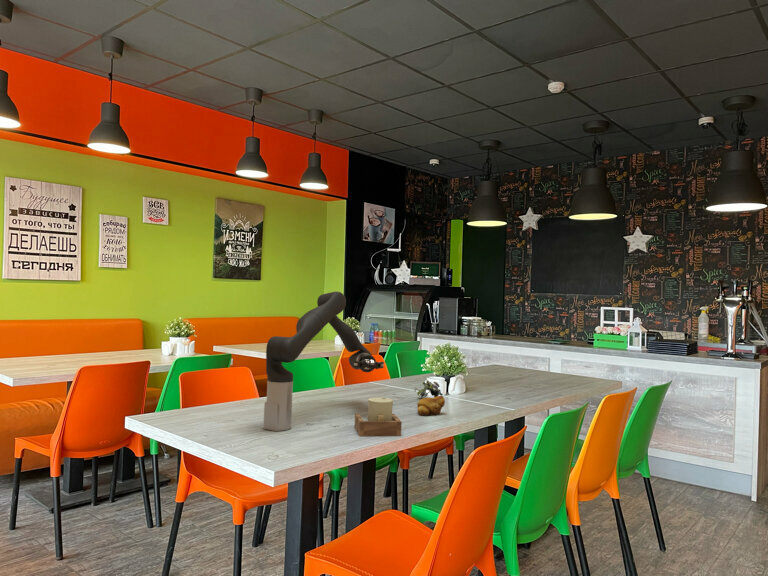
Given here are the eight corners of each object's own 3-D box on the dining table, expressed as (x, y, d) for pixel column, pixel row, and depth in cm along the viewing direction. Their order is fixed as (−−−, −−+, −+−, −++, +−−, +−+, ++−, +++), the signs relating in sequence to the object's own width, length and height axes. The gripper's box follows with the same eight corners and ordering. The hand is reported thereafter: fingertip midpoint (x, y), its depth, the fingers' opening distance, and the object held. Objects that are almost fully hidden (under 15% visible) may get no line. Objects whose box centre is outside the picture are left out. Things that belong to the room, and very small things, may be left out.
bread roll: (424, 417, 229) (425, 398, 229) (409, 413, 237) (410, 394, 237) (446, 414, 237) (447, 395, 237) (431, 410, 245) (431, 392, 245)
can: (395, 430, 205) (396, 397, 206) (386, 435, 197) (387, 401, 197) (372, 427, 209) (374, 395, 209) (362, 432, 200) (364, 399, 201)
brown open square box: (401, 435, 197) (401, 416, 197) (359, 436, 194) (360, 416, 194) (393, 426, 210) (394, 408, 210) (354, 427, 208) (355, 408, 208)
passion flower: (434, 410, 271) (448, 392, 267) (419, 408, 264) (433, 390, 260) (423, 394, 279) (437, 376, 275) (408, 392, 272) (421, 374, 268)
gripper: (350, 353, 234) (356, 356, 217) (381, 354, 237) (389, 357, 220) (349, 370, 234) (355, 375, 217) (380, 371, 236) (388, 376, 219)
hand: (372, 366), depth 218 cm, fingers closed
